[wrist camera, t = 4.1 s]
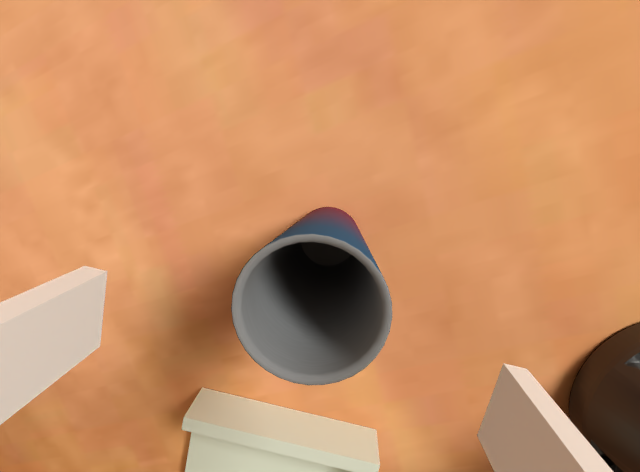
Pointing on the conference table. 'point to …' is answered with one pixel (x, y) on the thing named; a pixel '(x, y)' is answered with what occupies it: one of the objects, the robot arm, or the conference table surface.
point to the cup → (313, 302)
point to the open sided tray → (272, 438)
